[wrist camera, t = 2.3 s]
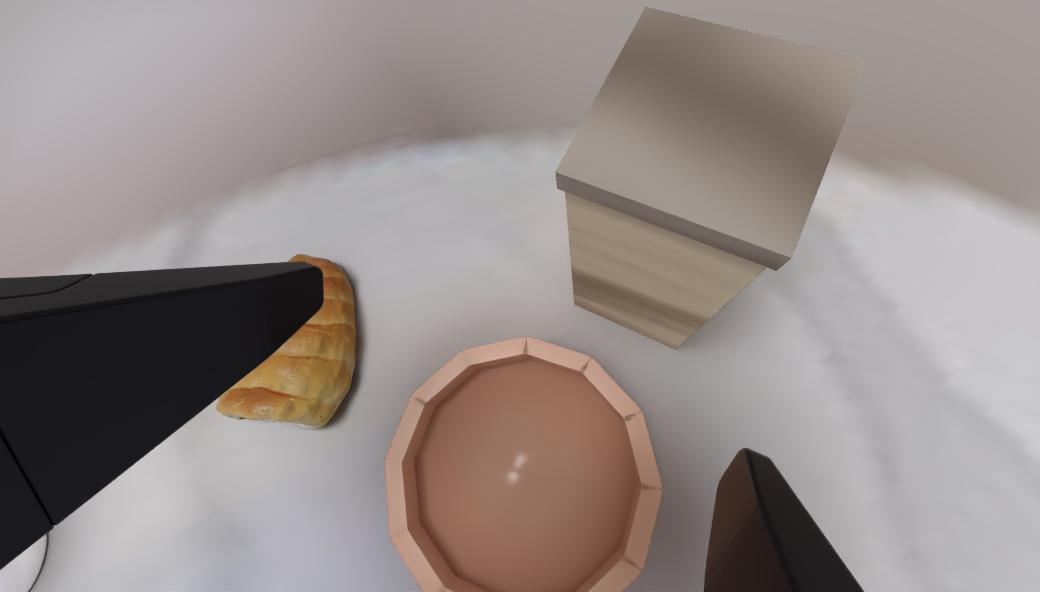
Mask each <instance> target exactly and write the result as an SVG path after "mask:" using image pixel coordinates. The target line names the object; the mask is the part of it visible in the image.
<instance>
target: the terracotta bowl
mask: <svg viewBox="0 0 1040 592" xmlns="http://www.w3.org/2000/svg"><path fill="white" fill-rule="evenodd" d="M413 395H414V396H413ZM413 395H411V396H410V398H409V401H408V403H407V406H406V408H405V411H404V413H403V416H402V418H401V421H400V423H399V426H398V428H397V430H396V433H395V435H394V438H393V440H392V443H391V445H390V448H389V450H388V453H387V455H386V458H385V460H386V461H388V462H384V466H385V480H386V493H387V506H388V520H389V533H390V537H392V536H394V537H393V538H392V539H391V541H392V543H393V544H394V546H395V547H396V549H397V551H398V552H399V554H400V555H401V557H402V559H403V560H404V562H405V563H406V565H407V567H408V568H409V570H410V572H411V573H412V575H413V576H414V578H415V580H416V581H417V583H418V584H419V586H420V588H421V589H422V591H423V592H623V591H624V590H625V589H626V588H627V587H628V586H629V585H630V584H631V583H632V582H633V581H634V580H635V579H636V578H637V577H638V576H639V575H640V574H641V573H642V571H641V569H642V570H644V566H645V562H646V558H647V554H648V550H649V546H650V542H651V537H652V533H653V529H654V525H655V521H656V517H657V513H658V509H659V505H660V501H661V497H662V493H663V490H662V489H660V488H663V486H662V482H661V478H660V475H659V471H658V467H657V463H656V460H655V456H654V452H653V448H652V445H651V441H650V437H649V433H648V430H647V426H646V422H645V419H644V415H643V412H640V411H641V409H640V408H639V406H638V405H637V404H636V403H635V402H634V401H633V400H632V399H631V398H630V397H629V396H628V395H627V394H626V393H625V392H624V390H623V389H622V388H621V387H620V386H619V385H618V384H617V383H616V382H615V381H614V380H613V379H612V378H611V377H610V376H609V374H608V373H607V372H606V371H605V370H604V369H603V368H602V367H601V366H600V365H599V364H598V363H597V362H596V361H595V360H594V358H593V357H592V358H591V359H590V356H589V355H585V354H582V353H579V352H576V351H573V350H570V349H567V348H564V347H560V346H557V345H554V344H551V343H548V342H545V341H542V340H539V339H535V338H532V337H529V336H528V337H526V336H523V337H519V338H514V339H509V340H505V341H500V342H495V343H490V344H486V345H481V346H476V347H472V348H467V349H464V351H462V350H461V351H460V352H459V353H458V354H457V355H456V356H454V357H453V358H452V359H451V360H450V361H449V362H447V363H446V364H445V365H444V366H443V367H442V368H441V369H439V370H438V371H437V372H436V373H435V374H434V375H432V376H431V377H430V378H429V379H428V380H427V381H426V382H424V383H423V384H422V385H421V386H420V387H419V388H417V389H416V390H415V391H414V392H413ZM638 412H640V413H638Z"/></svg>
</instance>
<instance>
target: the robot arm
mask: <svg viewBox="0 0 1040 592" xmlns="http://www.w3.org/2000/svg"><path fill="white" fill-rule="evenodd" d="M323 303H324V278H323V272H322V270H321V269H320V268H319V267H318V266H315V265H313V264H311V263H308V262H304V261H298V262H281V263H264V264H248V265H231V266H214V267H197V268H180V269H163V270H146V271H130V272H113V273H97V274H95V275H92V274H78V275H60V276H40V277H19V278H0V570H1V569H3V568H4V567H5V566H6V565H8V564H9V563H10V562H11V561H13V560H14V559H15V558H16V557H18V556H19V555H20V554H22V553H23V552H24V551H25V550H27V549H28V548H29V547H30V546H32V545H33V544H34V543H35V542H37V541H38V540H39V539H41V538H42V537H43V536H44V535H46V534H47V533H48V532H49V531H51V530H52V529H53V528H54V525H57V524H59V523H60V522H61V521H63V520H64V519H65V518H66V517H68V516H69V515H70V514H72V513H73V512H74V511H75V510H77V509H78V508H79V507H80V506H82V505H83V504H84V503H86V502H87V501H88V500H89V499H91V498H92V497H93V496H94V495H96V494H97V493H98V492H99V491H101V490H102V489H103V488H105V487H106V486H107V485H108V484H110V483H111V482H112V481H113V480H115V479H116V478H117V477H118V476H120V475H121V474H122V473H124V472H125V471H126V470H127V469H129V468H130V467H131V466H132V465H134V464H135V463H136V462H137V461H139V460H140V459H141V458H143V457H144V456H145V455H146V454H148V453H149V452H150V451H151V450H153V449H154V448H155V447H157V446H158V445H159V444H160V443H162V442H163V441H164V440H165V439H167V438H168V437H169V436H170V435H172V434H173V433H174V432H176V431H177V430H178V429H179V428H181V427H182V426H183V425H184V424H186V423H187V422H188V421H189V420H191V419H192V418H193V417H195V416H196V415H197V414H198V413H200V412H201V411H202V410H203V409H205V408H206V407H207V406H208V405H210V404H211V403H212V402H214V401H215V400H216V399H217V398H219V397H220V396H221V395H222V394H224V393H225V392H226V391H228V390H229V389H230V388H231V387H233V386H234V385H235V384H236V383H238V382H239V381H240V380H241V379H243V378H244V377H245V376H247V375H248V374H249V373H250V372H252V371H253V370H254V369H255V368H257V367H258V366H259V365H260V364H262V363H263V362H264V361H265V360H267V359H268V358H269V357H270V356H271V355H272V354H274V353H275V352H276V351H277V350H278V349H279V348H280V347H281V346H282V345H283V344H284V343H285V342H286V341H288V340H289V339H290V338H291V337H292V336H293V335H294V334H295V333H296V332H297V331H298V330H299V329H300V328H301V327H302V326H303V325H304V324H305V323H306V322H308V321H309V320H310V319H311V318H312V317H313V316H314V315H315V314H316V313H317V312H318V311H319V310H320V309H321V307H322V305H323ZM704 592H864V591H863V589H862V588H861V586H860V585H859V584H858V582H857V581H856V579H855V578H854V576H853V575H852V574H851V572H850V571H849V569H848V568H847V567H846V565H845V564H844V562H843V561H842V559H841V558H840V557H839V555H838V554H837V552H836V551H835V550H834V548H833V547H832V545H831V544H830V542H829V541H828V540H827V538H826V537H825V535H824V534H823V533H822V531H821V530H820V528H819V527H818V525H817V524H816V523H815V521H814V520H813V518H812V517H811V516H810V514H809V513H808V511H807V510H806V508H805V507H804V506H803V504H802V503H801V501H800V500H799V499H798V497H797V496H796V494H795V493H794V492H793V490H792V489H791V487H790V486H789V484H788V483H787V482H786V480H785V479H784V477H783V476H782V475H781V473H780V472H779V470H778V469H777V467H776V466H775V465H774V463H773V462H772V461H771V459H770V458H768V457H767V456H765V455H762V454H760V453H758V452H755V451H753V450H750V449H748V448H743V449H741V450H740V451H739V452H738V453H737V455H736V456H735V458H734V459H733V461H732V462H731V464H730V465H729V467H728V468H727V470H726V471H725V473H724V474H723V476H722V478H721V480H720V482H719V485H718V488H717V493H716V500H715V507H714V514H713V521H712V528H711V534H710V541H709V548H708V555H707V562H706V570H705V583H704Z"/></svg>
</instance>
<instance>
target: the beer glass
mask: <svg viewBox="0 0 1040 592" xmlns="http://www.w3.org/2000/svg"><path fill="white" fill-rule="evenodd" d="M46 545H47V534H46V535H44V536H43V537H42V538H41V539H39V540H38V541H37V542H35V543H34V544H33V545H32V546H30V547H29V548H28V549H27V550H25V551H24V552H23V553H22V554H20V555H19V556H18V557H16V558H15V559H14V560H13V561H11V562H10V563H9V564H8V565H6V566H5V567H4V568H3V569H1V570H0V592H28V591H29V590H30V589H31V587H32V585H33V584H34V582H35V580H36V578H37V576H38V574H39V572H40V569H41V567H42V564H43V560H44V557H45V552H46Z"/></svg>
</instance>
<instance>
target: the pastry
mask: <svg viewBox="0 0 1040 592" xmlns="http://www.w3.org/2000/svg"><path fill="white" fill-rule="evenodd" d="M298 261H304V262H308V263H311V264H313V265H315V266H318V267H319V268H320V269H321V270H322V272H323V278H324V303H323V305H322V307H321V309H320V310H319V311H318V312H317V313H316V314H315V315H314V316H313V317H312V318H311V319H310V320H309V321H308V322H306V323H305V324H304V325H303V326H302V327H301V328H300V329H299V330H298V331H297V332H296V333H295V334H294V335H293V336H292V337H291V338H290V339H289V340H288V341H286V342H285V343H284V344H283V345H282V346H281V347H280V348H279V349H278V350H277V351H276V352H275V353H274V354H272V355H271V356H270V357H269V358H268V359H267V360H265V361H264V362H263V363H262V364H260V365H259V366H258V367H257V368H255V369H254V370H253V371H252V372H250V373H249V374H248V375H247V376H245V377H244V378H243V379H241V380H240V381H239V382H238V383H236V384H235V385H234V386H233V387H231V388H230V389H229V390H228V391H226V392H225V393H224V394H222V395H221V396H220V398H219V402H218V403H217V405H216V409H217V410H218V411H219V412H220V413H222V415H224V416H226V417H230V418H235V419H238V420H242V419H251V420H262V421H266V422H293V423H294V424H295V425H296V426H298V427H299V428H301V429H311V430H316V429H318V428H321V427H323V426H324V425H325V424H326V423H327V422H328V421H329V420H330V419H331V417H332V416H333V415H334V413H335V412H336V410H337V408H338V407H339V405H340V404H341V402H342V400H343V399H344V398H345V396H346V395H347V393H348V391H349V389H350V386H351V381H352V376H353V372H354V368H355V366H356V355H355V353H356V327H355V307H354V296H353V290H352V287H351V285H350V283H349V280H348V278H347V275H346V274H345V273H344V271H343V270H342V269H341V268H340V266H339V265H337V264H336V263H333V262H331V261H329V260H326V259H321V258H314V257H310V256H308V255H303V254H298V255H296V256H294V257H293V258H291V259H290V260H289V261H288V262H298Z"/></svg>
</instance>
